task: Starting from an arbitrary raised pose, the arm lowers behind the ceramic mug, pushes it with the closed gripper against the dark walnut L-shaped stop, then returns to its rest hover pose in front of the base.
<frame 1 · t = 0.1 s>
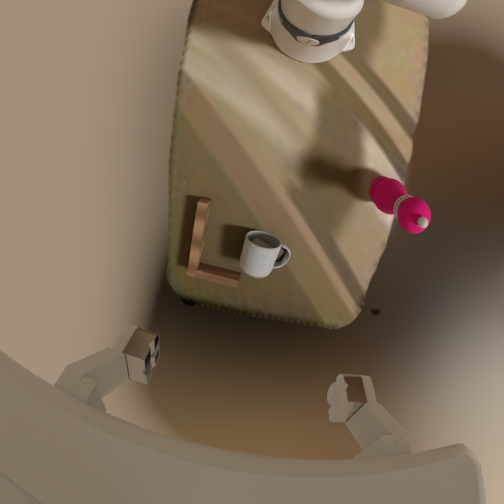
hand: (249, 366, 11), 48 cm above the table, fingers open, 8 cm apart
walnut stop: (200, 235, 62), on the table
pepper mill: (382, 190, 53), on the table
ceramic mug: (266, 247, 62), on the table
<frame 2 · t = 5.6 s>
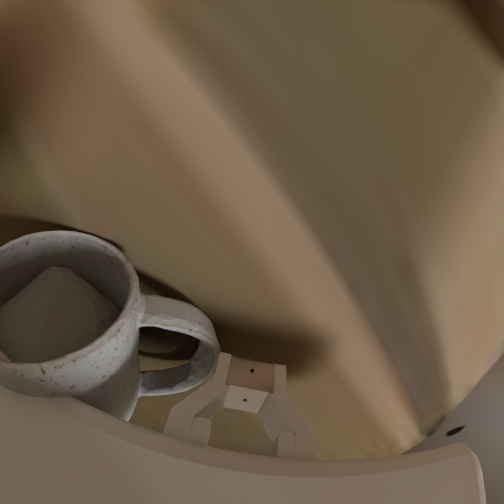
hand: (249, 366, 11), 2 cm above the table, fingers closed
ceramic mug: (120, 303, 13), on the table, touching gripper
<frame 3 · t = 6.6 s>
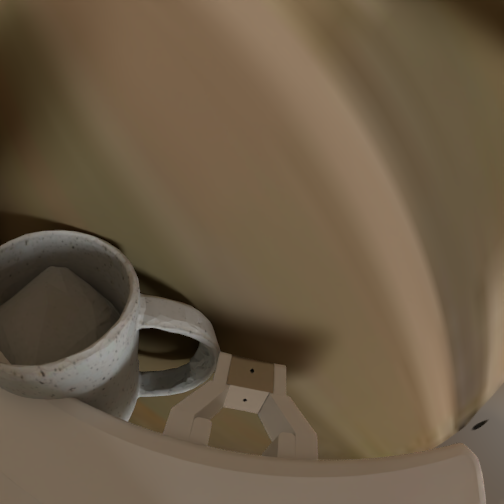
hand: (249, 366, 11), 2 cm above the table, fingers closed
ceramic mug: (120, 303, 13), on the table, touching gripper
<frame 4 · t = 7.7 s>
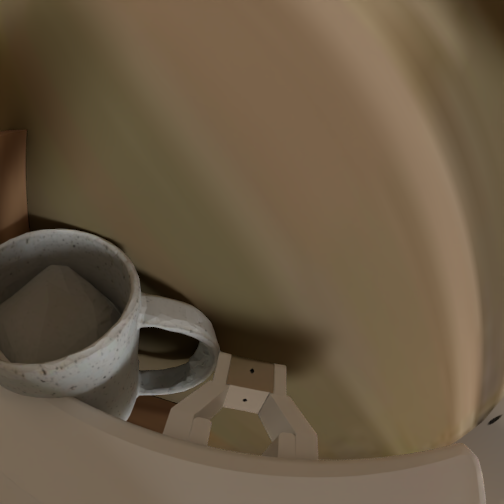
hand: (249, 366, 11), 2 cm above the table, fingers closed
walnut stop: (29, 279, 13), on the table
ceramic mug: (120, 302, 13), on the table, touching gripper
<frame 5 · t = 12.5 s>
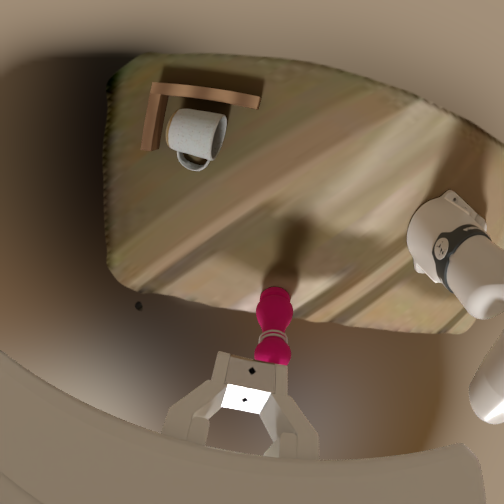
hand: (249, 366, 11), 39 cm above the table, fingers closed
walnut stop: (207, 94, 40), on the table
pepper mill: (275, 298, 57), on the table
ceramic mug: (202, 139, 44), on the table
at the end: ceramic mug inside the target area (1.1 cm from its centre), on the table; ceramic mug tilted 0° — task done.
